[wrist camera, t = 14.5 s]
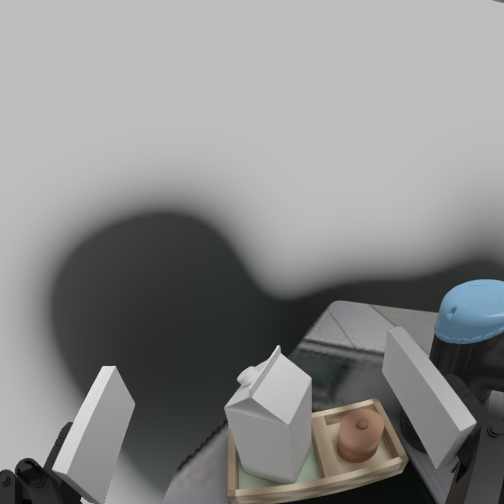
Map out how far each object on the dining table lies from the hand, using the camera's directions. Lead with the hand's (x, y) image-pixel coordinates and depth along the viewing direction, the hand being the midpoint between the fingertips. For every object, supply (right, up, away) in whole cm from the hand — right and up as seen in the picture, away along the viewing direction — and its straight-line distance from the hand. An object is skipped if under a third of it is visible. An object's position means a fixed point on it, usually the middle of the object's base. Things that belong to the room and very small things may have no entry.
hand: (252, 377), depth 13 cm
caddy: (+9, -24, +21) cm, 33 cm away
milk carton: (+4, -23, +20) cm, 31 cm away
